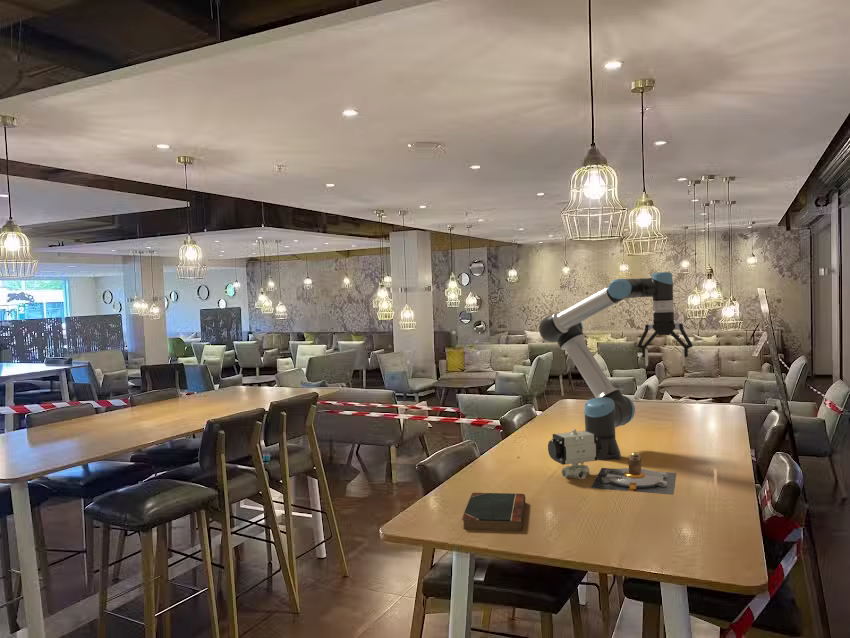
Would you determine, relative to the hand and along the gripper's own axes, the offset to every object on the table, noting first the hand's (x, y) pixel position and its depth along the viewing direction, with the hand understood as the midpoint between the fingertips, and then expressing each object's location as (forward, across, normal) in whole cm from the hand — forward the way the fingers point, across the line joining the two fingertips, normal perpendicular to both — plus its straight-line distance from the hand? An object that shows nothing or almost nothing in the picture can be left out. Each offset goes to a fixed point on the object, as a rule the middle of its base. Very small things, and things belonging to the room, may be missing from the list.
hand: (665, 365), depth 251 cm
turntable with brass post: (+36, -9, -37) cm, 52 cm away
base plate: (+37, -9, -37) cm, 53 cm away
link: (+34, -9, -34) cm, 49 cm away
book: (+38, -44, -82) cm, 101 cm away
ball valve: (+37, -29, -37) cm, 60 cm away
